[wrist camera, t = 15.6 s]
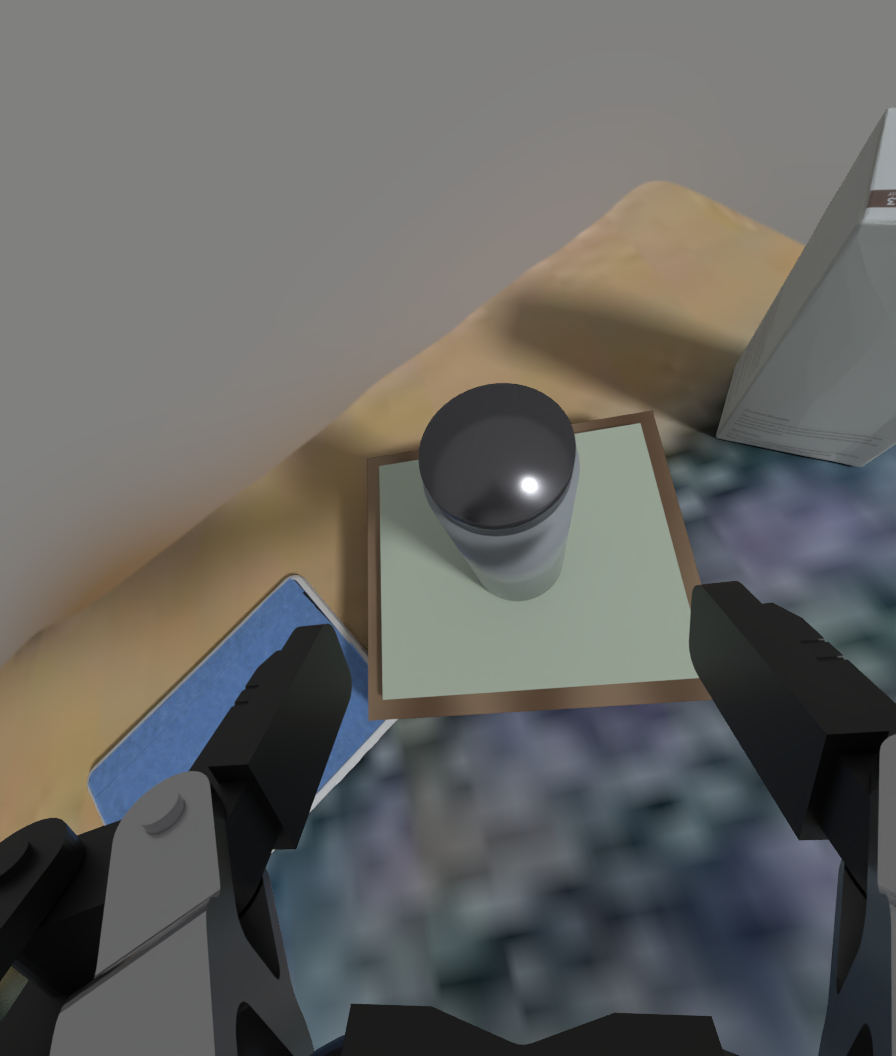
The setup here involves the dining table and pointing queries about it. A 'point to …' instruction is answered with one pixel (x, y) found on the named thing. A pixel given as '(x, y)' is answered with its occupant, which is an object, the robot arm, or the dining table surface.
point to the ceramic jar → (503, 484)
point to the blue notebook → (232, 704)
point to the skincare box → (830, 330)
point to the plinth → (548, 620)
